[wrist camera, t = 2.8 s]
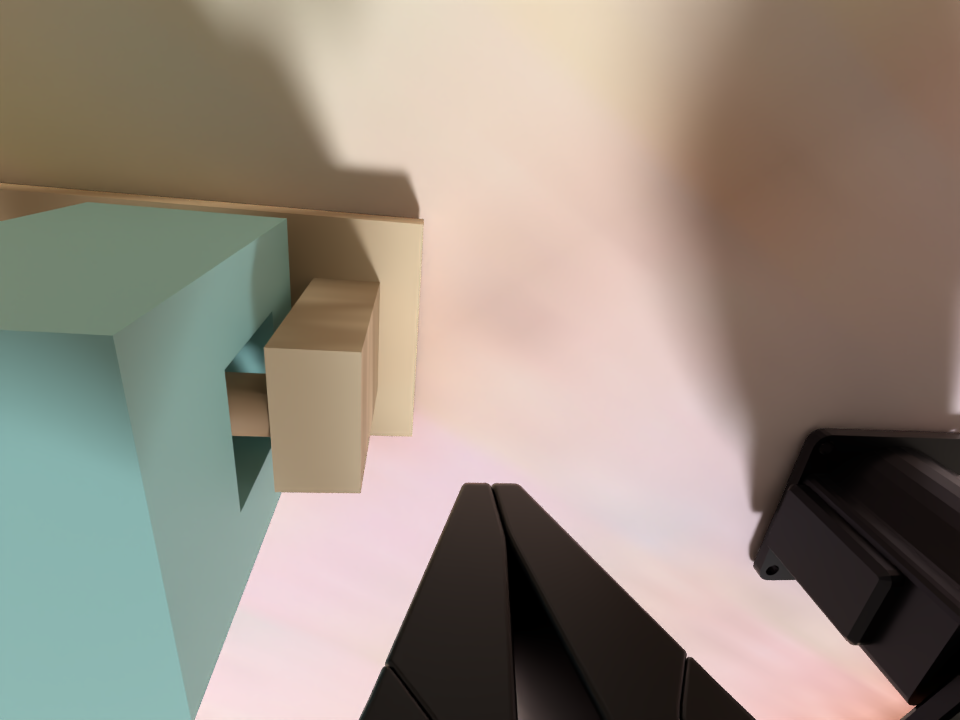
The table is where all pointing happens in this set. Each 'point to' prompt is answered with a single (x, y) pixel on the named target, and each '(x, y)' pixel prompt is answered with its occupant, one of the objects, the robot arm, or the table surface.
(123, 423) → the bead
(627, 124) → the table surface
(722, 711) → the robot arm
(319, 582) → the table surface
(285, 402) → the rail
